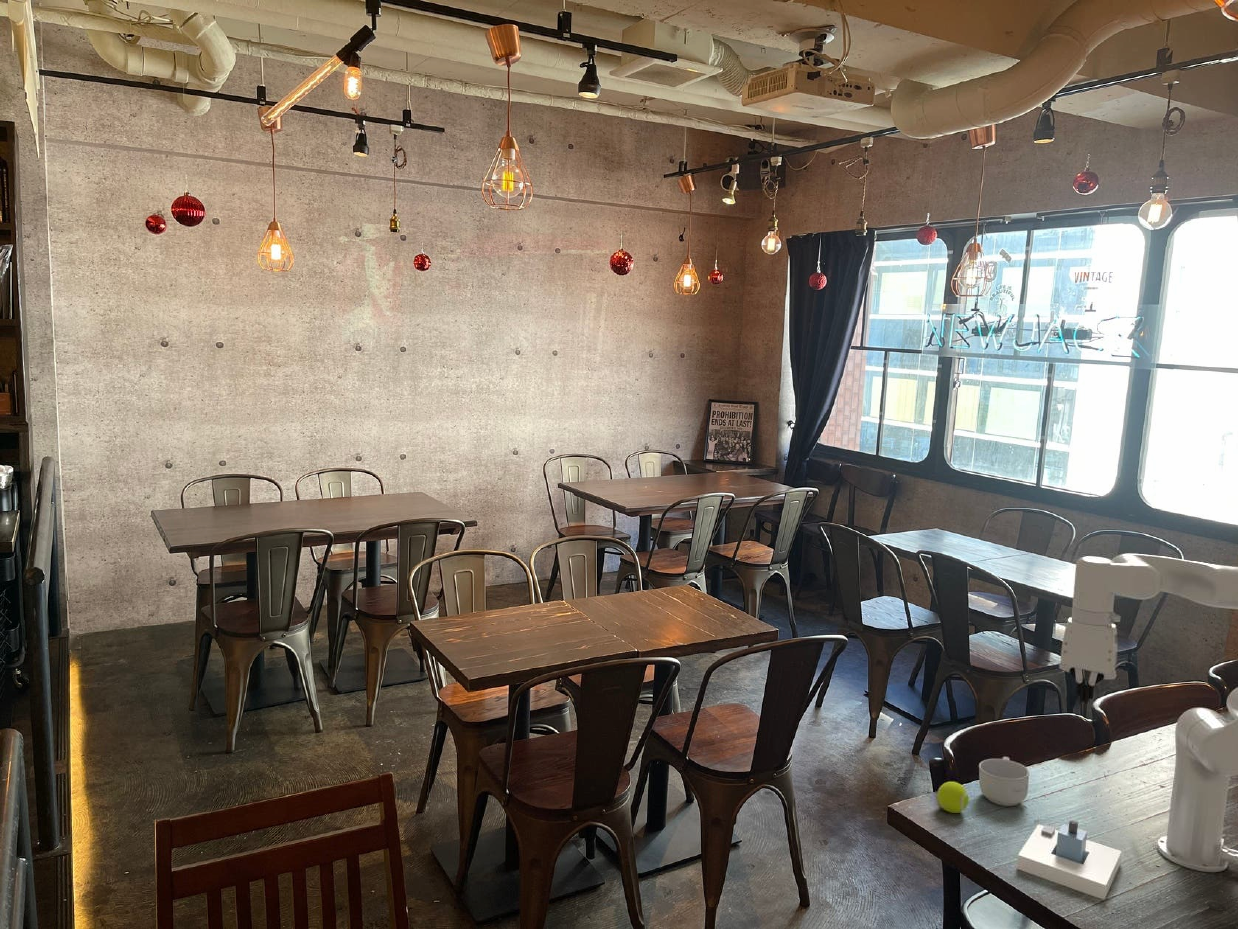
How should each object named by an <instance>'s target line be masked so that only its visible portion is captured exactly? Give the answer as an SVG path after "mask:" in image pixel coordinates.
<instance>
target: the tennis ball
mask: <svg viewBox="0 0 1238 929" xmlns="http://www.w3.org/2000/svg"><path fill="white" fill-rule="evenodd" d="M936 796H937V801H938V803H939V805H940V806H941V808H942V809H943V810H944V811H946V812H948V813H952V814H958V813H961V812H963V811H964V810H965V809H966V808H967V807H968V805H969V801H970V800H969V799H970V798H969V793H968V791H967V789H966V788H965V787H964V786H963V785H962V784H961V783H958V782H957V781H947V782H944V783H942V785H940V786H939V788H938V790H937V794H936Z"/></svg>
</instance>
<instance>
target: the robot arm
mask: <svg viewBox="0 0 1238 929" xmlns="http://www.w3.org/2000/svg"><path fill="white" fill-rule="evenodd" d="M1074 571H1075V572H1074V586H1073V597H1072V610H1071V617H1069V618H1067V622H1066V624H1065V629H1064V632H1063V639H1062V643H1061V644H1062V645H1061V650H1060V651H1061V652H1060V663H1059V665H1058V668H1059V669H1060V670H1061V671H1064V672H1066V673H1069V674H1071V676H1072V677H1073V678H1074V679H1075V682H1076V683H1077V688H1076V689H1077V690H1076V697H1079V701H1078V702H1079V703H1084V704H1086V705H1088V704H1089V702H1090V700H1093V699H1094V695H1095V694H1094V693H1095V685H1096V684H1098V683H1099V682H1102V680H1115V679H1116V677H1117V673H1116V666H1117V661H1118V632H1117V631H1118V630H1117V625H1116V624H1115V623H1116V622H1119V623H1120V622H1121V615H1120V614H1117V613H1116V612H1114V605H1115V604H1114V603H1115V596H1119V597H1125V598H1129V599H1133V600H1148V599H1152V598H1155V597H1156V596H1157V595H1158V594H1159V593H1160V592H1162V593H1163V592H1164V593H1168V594H1172V595H1175V596H1179V597H1181V598H1184V599H1187V600H1190V601H1192V602H1195V603H1197V604H1200V605H1204V606H1207V607H1213V608H1223V609H1233V610H1238V566H1231V565H1221V564H1213V563H1206V562H1201V561H1191V560H1188V559H1187V560H1186V559H1179V558H1174V557H1168V556H1159V555H1150V554H1141V553H1140V554H1139V553H1131V552H1129V553H1121V554H1119V555H1117V556H1115V557H1113V558H1112V559H1109V558H1106V557H1102V556H1087V555H1086V556H1081V557H1080V558H1078V560H1077V561H1076V564H1075V570H1074ZM1114 622H1115V623H1114ZM1085 671H1088V672H1090V675H1089V678H1088V679H1087V680H1086V678H1085ZM1226 707H1227V709H1228V712H1229V713H1230V715H1231V716H1232V717H1233V720H1232V721H1230V722H1229V721H1228V720H1227V719H1226V718H1225V717H1224V716H1222V714H1220V713H1218V712H1217V711H1214V710H1212V709H1209V708H1206V707H1193V708H1190V709H1187V710H1185V711H1184V712H1183V713H1182V714H1181V715H1180V716H1179V718H1178V719H1177V722H1176V725H1175V732H1174V739H1175V740H1174V741H1175V761H1174V762H1175V763H1174V774H1173V782H1172V790H1171V798H1170V805H1169V807H1170V808H1169V816H1168V824H1167V832H1166V835H1165V836H1161V837H1159V838H1158V839H1157V842H1156V848H1157V850H1158V852H1159V853H1160V854H1161V855H1162V856H1163V857H1164V858H1166V859H1167V860H1169V861H1170V862H1173V863H1175V864H1177V865H1179V866H1182V867H1184V868H1187V869H1190V870H1193V871H1198V872H1202V873H1203V872H1204V873H1205V872H1206V873H1217V872H1223V871H1224V870H1226V869H1227V868H1228V864H1229V863H1233V864H1234V865H1238V850H1237V849H1231V848H1229V847H1228V846H1227V845H1224V842H1225V839H1224V838H1223V828H1224V823H1225V815H1226V808H1227V807H1226V805H1227V800H1228V797H1227V796H1228V791H1229V783H1230V777H1235V776H1238V686H1237V687H1236V688H1234V689H1233V690H1232V691H1231V692H1230V693H1229V695H1228V696H1227V699H1226ZM1228 862H1229V863H1228Z"/></svg>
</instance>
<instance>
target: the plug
mask: <svg viewBox="0 0 1238 929" xmlns="http://www.w3.org/2000/svg"><path fill="white" fill-rule="evenodd" d="M1078 827H1079V822H1077V821H1075V820H1069V822H1068V825H1067V824H1064V823H1063V824H1062V825H1061V827H1060V829H1058V831H1059V832H1058V837H1057V847H1056V856H1059V857H1062V858H1065V859H1068V860H1071V861H1074V862H1077V863H1080V864H1084V857H1085V848H1086V840H1088V839H1087V837H1088V831H1086V830H1083V829H1080V828H1078Z"/></svg>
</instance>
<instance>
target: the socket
mask: <svg viewBox="0 0 1238 929" xmlns="http://www.w3.org/2000/svg"><path fill="white" fill-rule="evenodd" d="M1058 832H1059V829H1058V830H1057V829H1056V828H1055V827H1053V826H1049V825H1047V824H1045V825H1042V824H1037V826H1036V827H1035V828H1034V830H1033V832H1032V833H1031V835H1030V836H1029V838H1028V839H1027V840H1026V842H1025V843H1024V845H1023V847H1022V848H1021V849H1020V850H1019V852H1018V854H1017V862H1016V870H1019V871H1023V872H1025V873H1028V874H1031V875H1033V876H1036V877H1039V878H1042V879H1045V880H1046V881H1050V882H1053V883H1056V884H1058V885H1061V886H1063V887H1067V888H1070V889H1073V890H1076V891H1078V892H1081V893H1084V894H1086V895H1089V896H1091V897H1095V898H1097V899H1100V900H1103V901H1105V900H1106V898H1107V894H1108V893H1109V891H1110V888H1111V886H1112V884H1113V881H1114V880H1115V877H1116V874H1117V873H1118V871H1119V868H1120V865H1121V859H1122V850H1119V849H1116V848H1113V847H1110V846H1106V845H1104V844H1100V843H1098V842H1095V841H1091V840H1089V839H1086V848H1085V857H1084V864H1080V863H1077V862H1074V861H1071V860H1068V859H1065V858H1062V857H1059V856H1056V847H1057V837H1058Z"/></svg>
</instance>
